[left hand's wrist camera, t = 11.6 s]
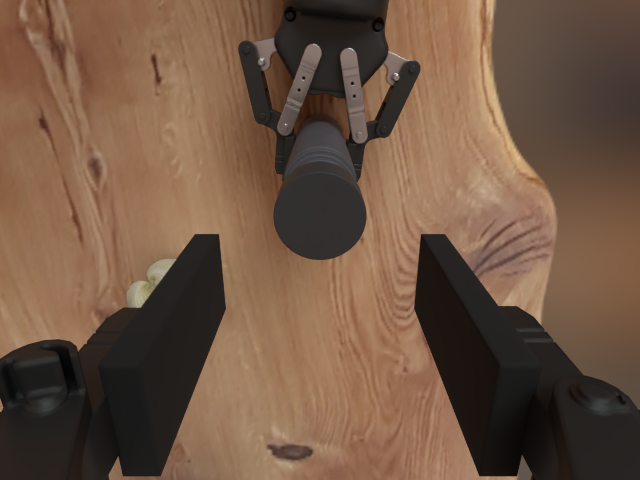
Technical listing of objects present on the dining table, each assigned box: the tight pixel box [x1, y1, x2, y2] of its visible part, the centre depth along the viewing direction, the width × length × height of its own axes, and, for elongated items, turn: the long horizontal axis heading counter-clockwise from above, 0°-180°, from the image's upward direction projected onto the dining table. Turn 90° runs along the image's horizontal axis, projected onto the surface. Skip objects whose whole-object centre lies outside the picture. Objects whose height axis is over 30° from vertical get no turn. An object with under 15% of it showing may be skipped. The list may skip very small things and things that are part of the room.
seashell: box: [127, 259, 176, 308], centre depth 45 cm, size 8×8×8 cm
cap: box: [274, 161, 366, 260], centre depth 21 cm, size 4×4×2 cm
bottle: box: [283, 114, 357, 182], centre depth 31 cm, size 4×4×24 cm
